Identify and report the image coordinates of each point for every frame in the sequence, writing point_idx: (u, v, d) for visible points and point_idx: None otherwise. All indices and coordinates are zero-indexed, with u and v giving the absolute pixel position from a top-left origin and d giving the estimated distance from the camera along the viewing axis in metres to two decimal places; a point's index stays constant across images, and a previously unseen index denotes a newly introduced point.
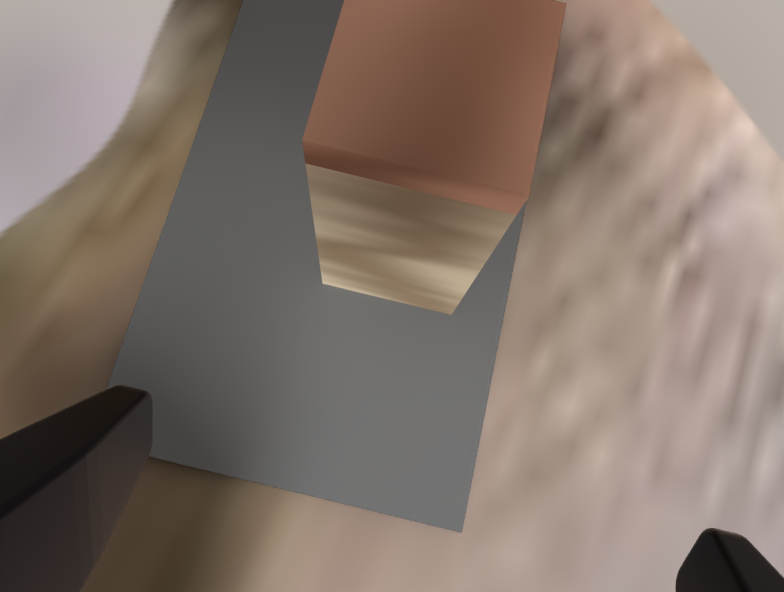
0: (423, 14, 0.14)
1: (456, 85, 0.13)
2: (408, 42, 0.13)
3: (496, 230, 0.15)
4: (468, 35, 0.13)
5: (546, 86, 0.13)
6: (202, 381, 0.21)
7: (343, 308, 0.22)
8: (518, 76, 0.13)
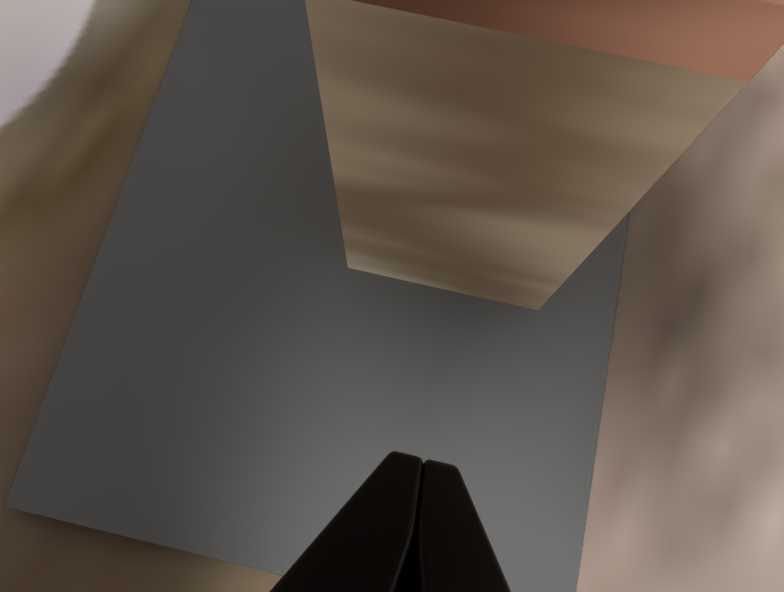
0: None
1: None
2: None
3: (682, 131, 0.07)
4: None
5: None
6: (173, 414, 0.14)
7: (378, 303, 0.15)
8: None
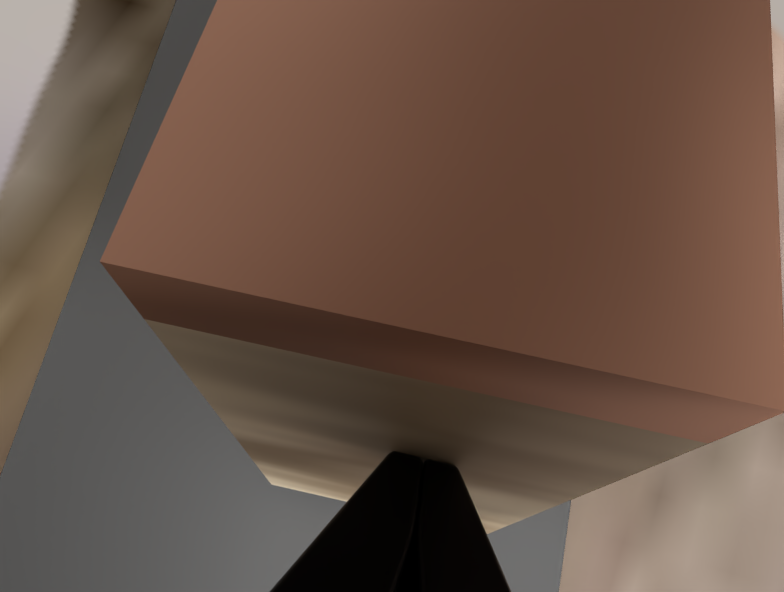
0: None
1: (532, 111, 0.05)
2: (405, 15, 0.05)
3: (630, 462, 0.06)
4: None
5: (762, 110, 0.05)
6: None
7: (308, 528, 0.14)
8: (688, 86, 0.05)
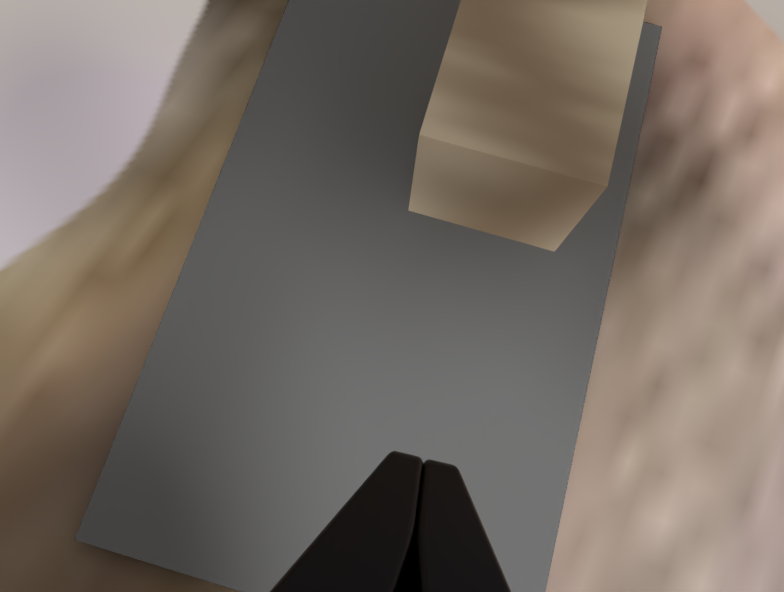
0: None
1: None
2: None
3: None
4: None
5: None
6: (215, 470, 0.17)
7: (388, 385, 0.18)
8: None
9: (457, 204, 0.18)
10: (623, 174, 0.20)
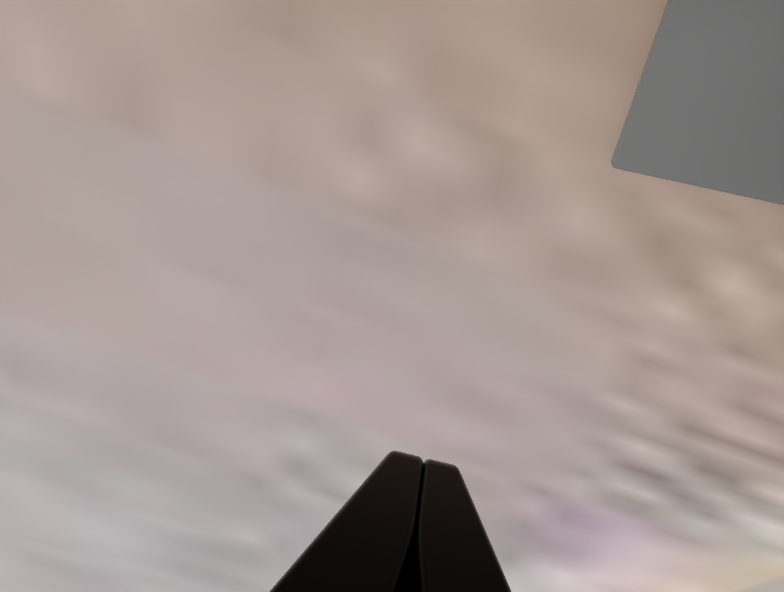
0: None
1: None
2: None
3: None
4: None
5: None
6: None
7: None
8: None
9: None
10: None
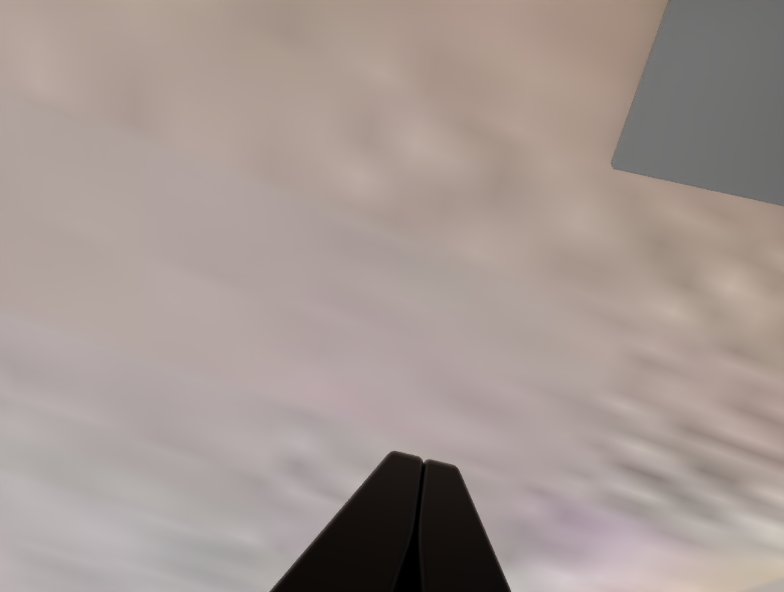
0: None
1: None
2: None
3: None
4: None
5: None
6: None
7: None
8: None
9: None
10: None
